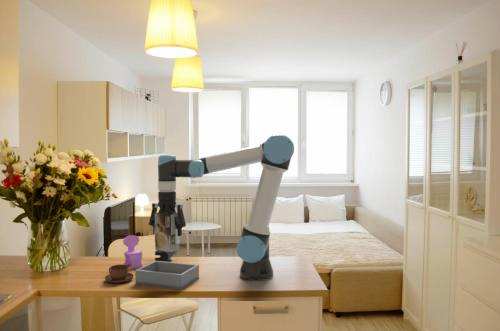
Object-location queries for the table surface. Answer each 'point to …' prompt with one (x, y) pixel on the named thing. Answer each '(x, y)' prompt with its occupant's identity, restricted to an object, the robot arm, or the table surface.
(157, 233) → the coffee box
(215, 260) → the table surface
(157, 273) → the walled bin
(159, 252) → the end cap
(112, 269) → the cup and saucer
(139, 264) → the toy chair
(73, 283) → the table surface
